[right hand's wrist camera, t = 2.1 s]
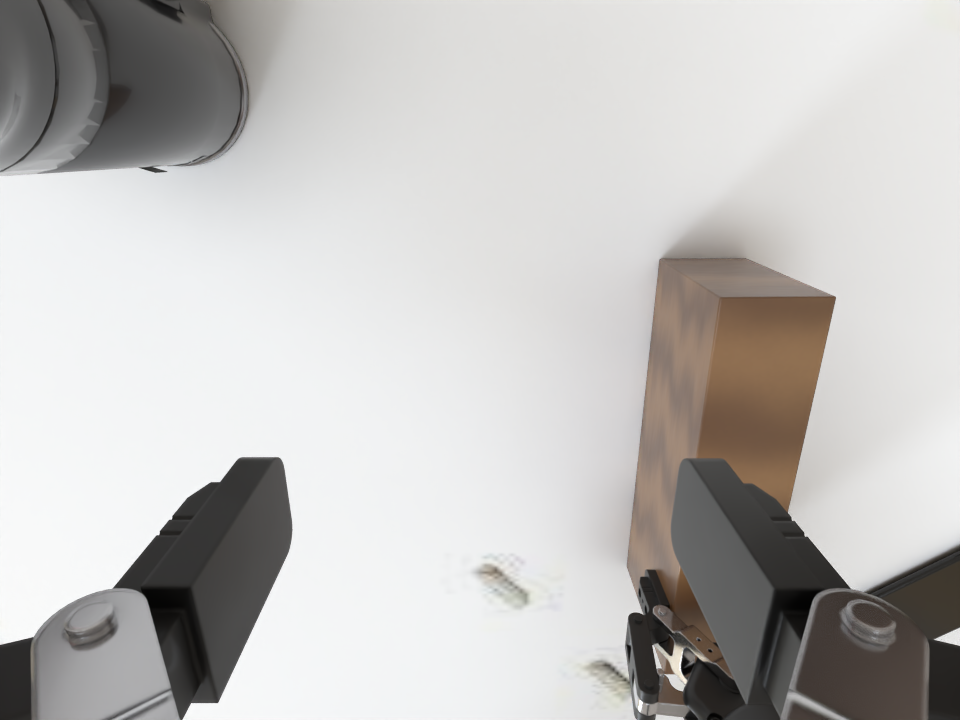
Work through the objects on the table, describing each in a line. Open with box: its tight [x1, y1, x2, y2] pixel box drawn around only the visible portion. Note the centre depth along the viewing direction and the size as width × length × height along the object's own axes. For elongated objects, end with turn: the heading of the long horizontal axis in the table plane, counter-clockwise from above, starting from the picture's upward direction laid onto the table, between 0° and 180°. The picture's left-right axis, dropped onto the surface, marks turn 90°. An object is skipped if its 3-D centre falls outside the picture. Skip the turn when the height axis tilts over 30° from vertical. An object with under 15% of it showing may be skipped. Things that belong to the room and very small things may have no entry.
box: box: [627, 258, 836, 674], centre depth 39 cm, size 27×6×11 cm, turn 0°
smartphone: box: [870, 551, 960, 640], centre depth 49 cm, size 8×1×16 cm
